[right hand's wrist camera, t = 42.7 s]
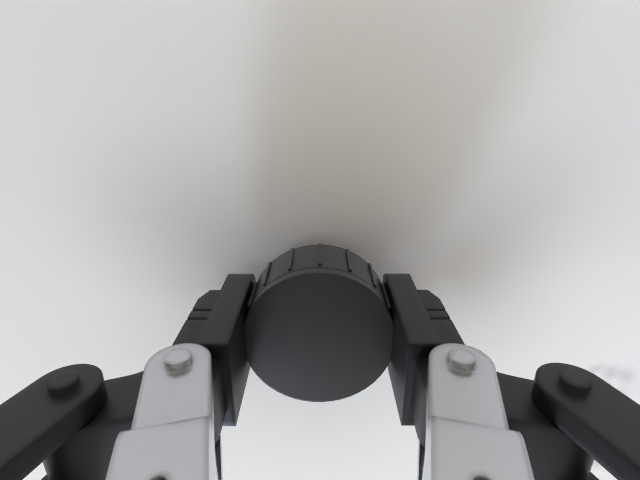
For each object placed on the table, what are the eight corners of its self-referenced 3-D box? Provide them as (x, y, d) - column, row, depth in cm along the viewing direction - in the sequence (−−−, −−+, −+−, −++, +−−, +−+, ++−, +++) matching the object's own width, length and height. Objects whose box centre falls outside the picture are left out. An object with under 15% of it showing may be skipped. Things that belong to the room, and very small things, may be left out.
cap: (402, 258, 12) (416, 289, 10) (366, 369, 13) (373, 413, 11) (263, 230, 11) (253, 257, 10) (243, 347, 13) (231, 389, 11)
